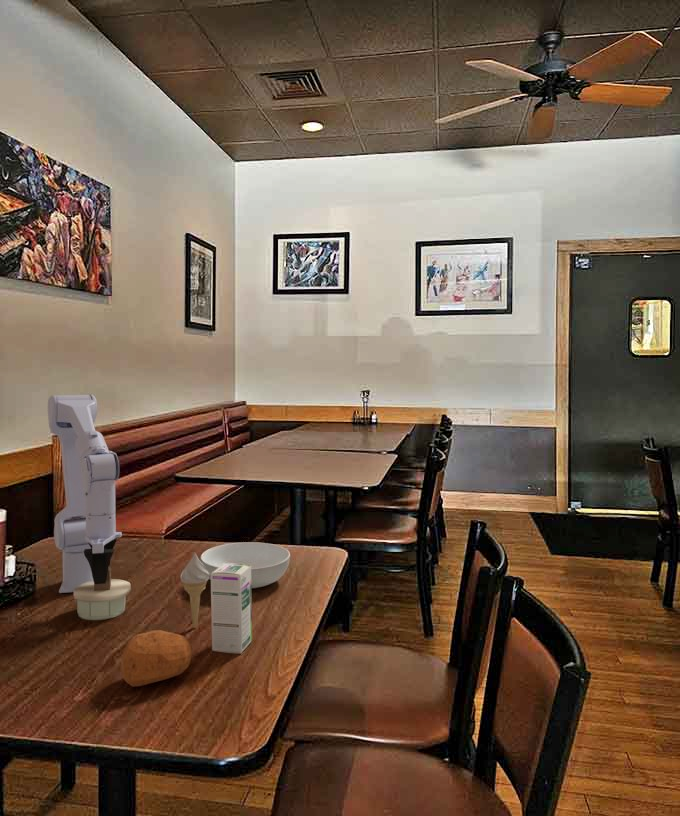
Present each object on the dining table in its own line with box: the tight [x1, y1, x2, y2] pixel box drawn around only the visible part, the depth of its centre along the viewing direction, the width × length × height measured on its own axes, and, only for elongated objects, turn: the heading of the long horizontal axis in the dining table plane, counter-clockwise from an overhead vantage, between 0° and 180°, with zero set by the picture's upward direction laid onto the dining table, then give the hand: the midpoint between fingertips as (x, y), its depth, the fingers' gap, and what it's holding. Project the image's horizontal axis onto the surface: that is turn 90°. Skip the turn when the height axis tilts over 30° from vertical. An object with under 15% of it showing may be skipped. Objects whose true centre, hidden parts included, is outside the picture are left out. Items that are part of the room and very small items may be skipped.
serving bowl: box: [199, 541, 291, 589], centre depth 151 cm, size 21×21×7 cm
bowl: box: [76, 596, 126, 621], centre depth 132 cm, size 9×9×4 cm
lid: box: [73, 565, 132, 602], centre depth 132 cm, size 11×11×5 cm
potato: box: [120, 629, 193, 687], centre depth 105 cm, size 9×11×8 cm
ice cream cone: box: [179, 551, 210, 629], centre depth 125 cm, size 6×6×15 cm
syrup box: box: [210, 563, 253, 655], centre depth 117 cm, size 6×6×14 cm
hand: (101, 578), depth 132 cm, fingers open, 6 cm apart
